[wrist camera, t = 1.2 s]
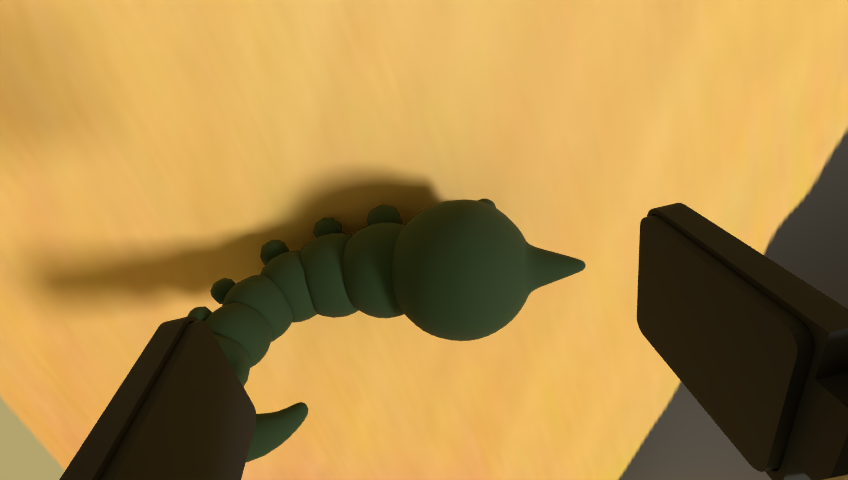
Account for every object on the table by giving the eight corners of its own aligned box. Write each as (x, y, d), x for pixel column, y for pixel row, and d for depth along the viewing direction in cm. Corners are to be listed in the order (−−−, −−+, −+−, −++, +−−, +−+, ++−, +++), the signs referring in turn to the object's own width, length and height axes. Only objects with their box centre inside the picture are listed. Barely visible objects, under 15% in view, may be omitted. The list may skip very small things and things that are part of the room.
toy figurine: (269, 305, 40) (552, 259, 38) (164, 530, 23) (661, 467, 21) (227, 210, 35) (547, 153, 33) (60, 404, 18) (679, 311, 17)
